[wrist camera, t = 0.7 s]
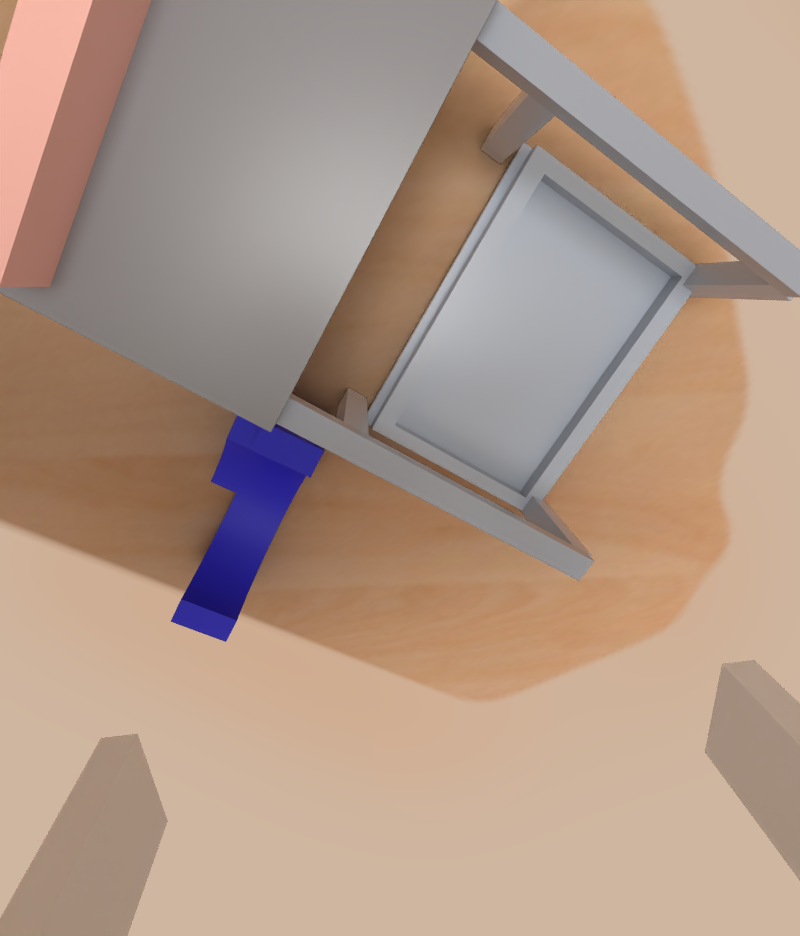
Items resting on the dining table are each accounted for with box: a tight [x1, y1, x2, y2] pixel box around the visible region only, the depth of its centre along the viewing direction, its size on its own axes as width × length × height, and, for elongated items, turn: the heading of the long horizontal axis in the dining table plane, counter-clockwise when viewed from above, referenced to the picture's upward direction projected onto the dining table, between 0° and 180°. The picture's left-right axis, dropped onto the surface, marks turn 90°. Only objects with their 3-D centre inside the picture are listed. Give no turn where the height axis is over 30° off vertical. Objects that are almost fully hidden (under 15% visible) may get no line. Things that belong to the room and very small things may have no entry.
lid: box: [0, 0, 497, 432], centre depth 15 cm, size 10×16×4 cm, turn 149°
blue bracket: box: [171, 415, 324, 642], centre depth 27 cm, size 12×4×6 cm, turn 151°
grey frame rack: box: [276, 0, 800, 581], centre depth 23 cm, size 26×16×8 cm, turn 59°
